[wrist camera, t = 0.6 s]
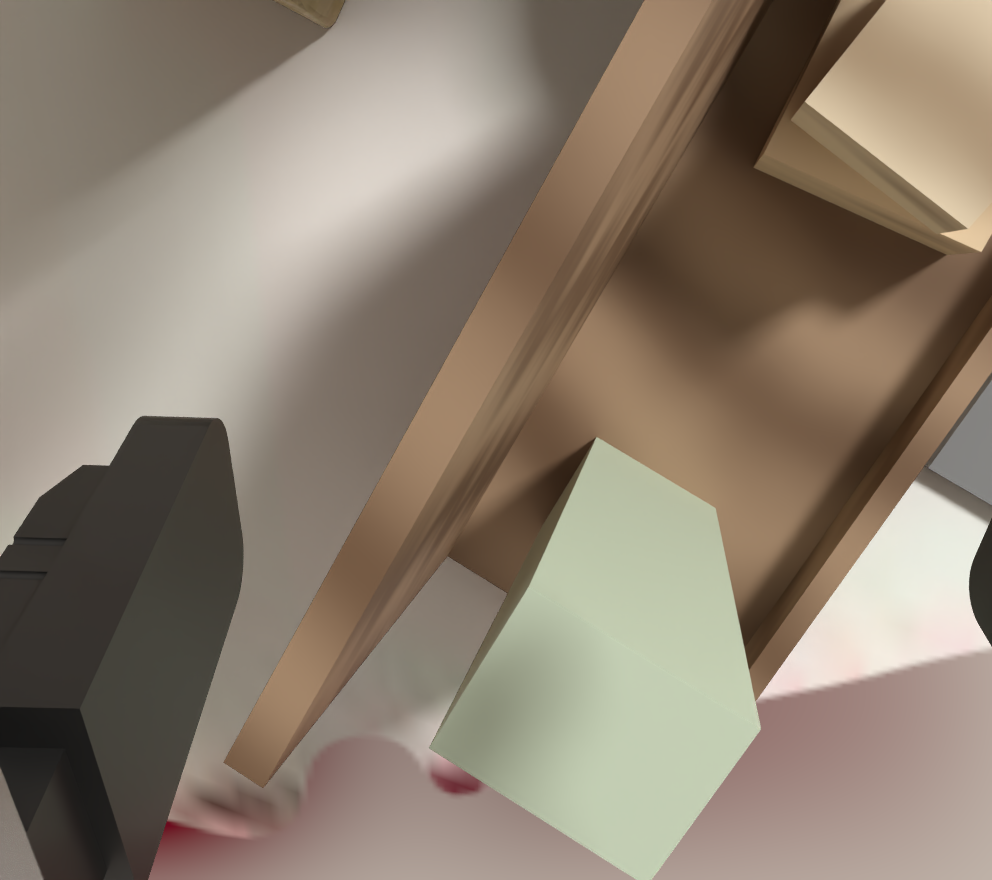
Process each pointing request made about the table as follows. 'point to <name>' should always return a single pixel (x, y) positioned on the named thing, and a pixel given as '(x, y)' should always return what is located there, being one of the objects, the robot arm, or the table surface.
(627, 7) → the table surface
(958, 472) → the mat
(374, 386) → the table surface
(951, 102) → the offcut
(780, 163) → the offcut
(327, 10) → the caddy
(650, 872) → the sage green pillar
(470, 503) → the rack
